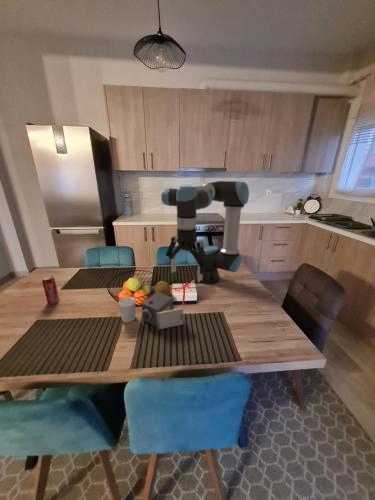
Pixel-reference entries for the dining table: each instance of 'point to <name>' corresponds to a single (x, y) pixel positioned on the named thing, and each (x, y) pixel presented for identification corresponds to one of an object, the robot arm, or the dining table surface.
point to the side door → (169, 318)
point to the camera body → (156, 307)
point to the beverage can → (50, 289)
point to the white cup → (127, 309)
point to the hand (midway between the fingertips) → (186, 275)
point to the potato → (162, 288)
